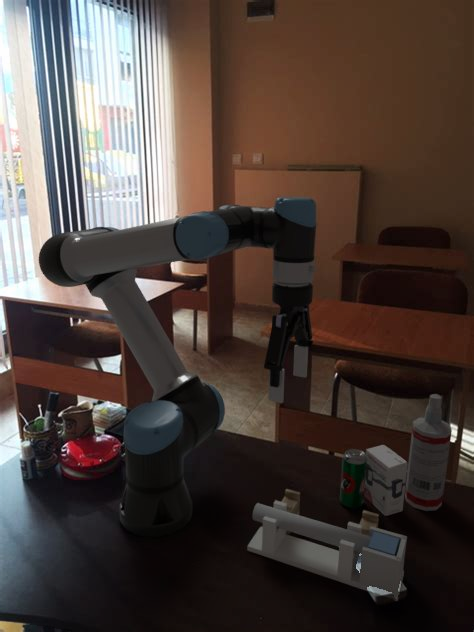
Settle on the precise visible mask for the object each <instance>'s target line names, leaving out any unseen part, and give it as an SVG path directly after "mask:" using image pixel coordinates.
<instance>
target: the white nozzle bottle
mask: <svg viewBox="0 0 474 632" xmlns="http://www.w3.org/2000/svg"><path fill="white" fill-rule="evenodd" d="M441 404H442V396H441V395H440V394H437V393H434V394H433V393H432V394H430V395H429V401H428V404H427V406H426V408H425V413H424V417H418V418H416V419H414V420H413V421H412V429H411V437H410V444H409V445H410V446H409V453H408V454H409V455H408V462H407V463H408V464H407V474H406V483H405V492H404V499H405V502H406V503H408V504H409V505H410V506H411V507H413V508H415V509H418V510H422V511H424V512H429V511H437V510H438V509H439V508H440V507H442V506H443V505H442V504H443V499H444V491H445V484H446V483H445V482H446V476H447V471H448V470H447V468H448V462H449V453H450V445H451V439H452V431H453V429H452V426H451V424H450V423H448V422H446V421H445V420H443V419H442V418H443V417H442V416H443V411H442V410H443V409H442V406H441Z"/></svg>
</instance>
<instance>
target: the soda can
mask: <svg viewBox="0 0 474 632" xmlns="http://www.w3.org/2000/svg"><path fill="white" fill-rule="evenodd" d="M341 461H342V462H341V463H342V464H341V475H340V476H341V477H340V490H339V501H340V503H341V504H342V505H343V506H344V507H346V508H349V509H358V508H360V507H362V506H363V505H364V499H365V497H364V489H365V478H366V466H367V458H366V452H364V451H363V450H361V449H357V448H350V449H347V450H345V452H344V454H343V456H342V460H341Z"/></svg>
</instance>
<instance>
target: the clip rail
mask: <svg viewBox="0 0 474 632" xmlns="http://www.w3.org/2000/svg"><path fill="white" fill-rule="evenodd" d="M273 508H276V509H279V510H283V511H286V512H287V503H283V502H281V501H279V500H277V499H274V502H273ZM359 524H360V523H356V522H353V521H348V523H347V527H346V529H347V530H350V531H354V532H357V533H360V534H361V531H362V525H359ZM373 532H378V533H381V534H385V535H388V536H392V537H395V538H398V539H399V543H398V552H397V557H396V556H392V555H389V554H386V553H383V552H379V551H376V550H373V549H369V548H366V547H363V548H362V555H361V557H360V556H359V554H360V553H357V552H354V548H355V543H352V542H348V541H345V540H342V539H341V541H340V546H339V549H338V550H336V549H334V548H330V547H327V546H325V545H321V544H318V543H315V542H312V541H309V540H306V539H302V538H298V537H295V536H292V535H291V534H287V533H286V530H284V529H280V528H277V520H276V519H273V518H270V517H266V516H265V517H264V518H263V523H262V526H260V527H259V528H258V530H257V531H256V532H255V534H254V535H253V537H252V539H251V540H250V541H249V543H248V544H247V549H246V550H247V551H248V552H251V553H253V554H256V555H260V556H263V557H266V558H269V559H271V560H275V561H277V562H281V563H283V564H287V565H289V566H293V567H295V568H298V569H301V570H304V571H307V572H310V573H312V574H315V575H319V576H321V577H323V578H327V579H331V580H334V581H337V582H340V583H342V584H345V585H349V586H351V587H355V588H357V589H360V590H363V591H366V592H368V591H367V587H369V586H372V587H377V588H379V589H383V590H386V591H388V592H392V593H393V595H394V597H395V599H396V600H394V602H395V601H396V602H398V600H399V597H398V595H399V596H400V593H398V588H399V584H400V581H401V582H402V583H403V580H404V576H405V575H404V574H405V571H404V565H405V556H406V548H407V539H408V536H406V535H403V534H400V533H397V532H392V531H388V530H385V529H381V528H379V527H378V528H376V527H372V526H370V530H369V536H370V537H372V535H373ZM359 557H360V558H361V569H360V573H359V571H358V570H357V569H356V564H357V561H358V558H359Z"/></svg>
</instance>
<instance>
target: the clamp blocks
mask: <svg viewBox="0 0 474 632" xmlns="http://www.w3.org/2000/svg"><path fill="white" fill-rule="evenodd" d="M280 502H283V503H287V512H289V513H293V514H296V515H300V505H301V504H300V503H301V492H300V491H297V490H293V489H288V488H286V489H285V491H284V497H283V498H282V500H281V501H280ZM361 513H362V514H361V515H362V516H361V519H360V521H359V523H358V524H359V525H362V531H361V534H364V535H367V536H369V530H370V526H372V527H376V528H379V519H380V518H379V517H380V514H379V513H376V512H372V511H369V510H365V509H363V511H362V512H361ZM286 534H287V535H291V534H292V532H290V531H287V530H286Z"/></svg>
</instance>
